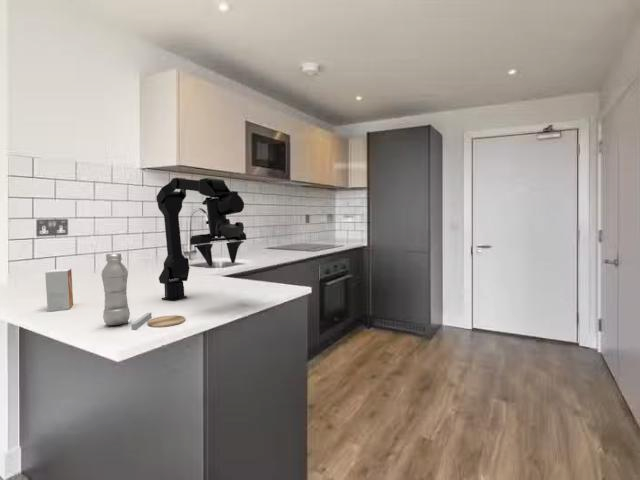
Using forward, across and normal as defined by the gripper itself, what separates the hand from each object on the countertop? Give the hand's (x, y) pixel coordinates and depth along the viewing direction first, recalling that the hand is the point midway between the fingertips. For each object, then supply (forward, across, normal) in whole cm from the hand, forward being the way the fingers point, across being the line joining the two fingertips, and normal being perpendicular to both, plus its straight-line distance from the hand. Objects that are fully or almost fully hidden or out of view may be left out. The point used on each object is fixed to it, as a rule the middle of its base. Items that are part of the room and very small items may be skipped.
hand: (222, 264), depth 122 cm
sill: (+14, -24, +8) cm, 29 cm away
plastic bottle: (+13, -29, +13) cm, 34 cm away
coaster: (+14, -20, +3) cm, 25 cm away
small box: (+9, -29, +50) cm, 59 cm away
